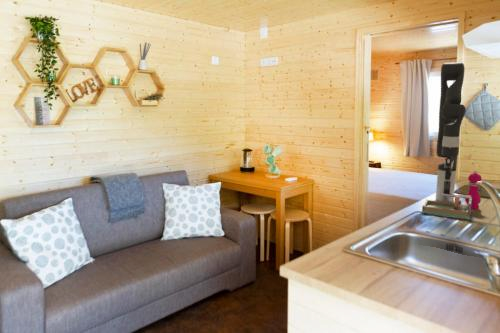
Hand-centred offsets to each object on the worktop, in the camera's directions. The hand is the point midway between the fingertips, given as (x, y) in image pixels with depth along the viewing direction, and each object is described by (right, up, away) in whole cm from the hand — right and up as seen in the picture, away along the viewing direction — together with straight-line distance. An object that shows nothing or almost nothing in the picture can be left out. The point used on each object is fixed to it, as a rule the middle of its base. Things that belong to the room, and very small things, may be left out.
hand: (448, 177), depth 205 cm
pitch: (0, -17, +2) cm, 18 cm away
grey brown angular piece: (+4, -16, 0) cm, 16 cm away
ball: (+7, -14, -2) cm, 16 cm away
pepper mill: (+18, -16, +11) cm, 26 cm away
